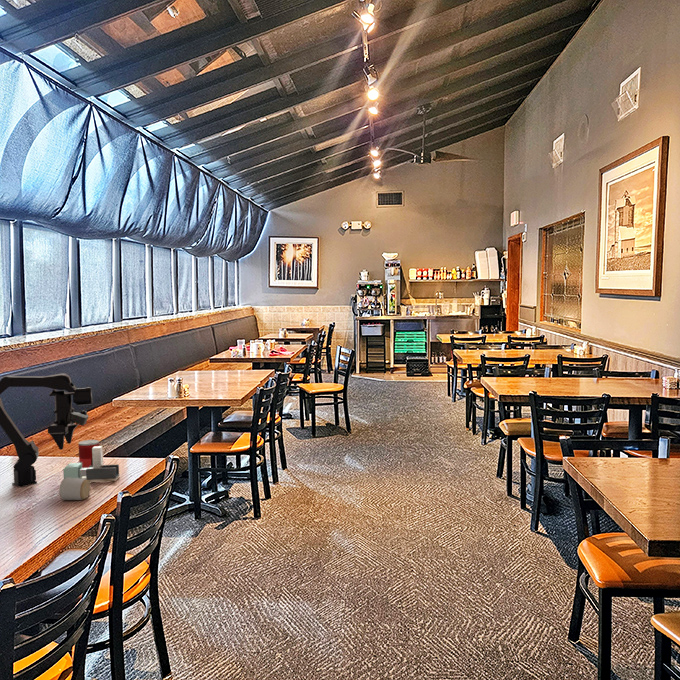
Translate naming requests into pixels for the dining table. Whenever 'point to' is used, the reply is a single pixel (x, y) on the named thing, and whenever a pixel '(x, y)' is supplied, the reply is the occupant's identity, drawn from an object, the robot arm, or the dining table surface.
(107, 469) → the sleeve
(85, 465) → the canned food
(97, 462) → the light grey l-shaped piece
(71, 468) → the socket
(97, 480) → the base board
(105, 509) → the dining table surface
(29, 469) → the robot arm
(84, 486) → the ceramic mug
